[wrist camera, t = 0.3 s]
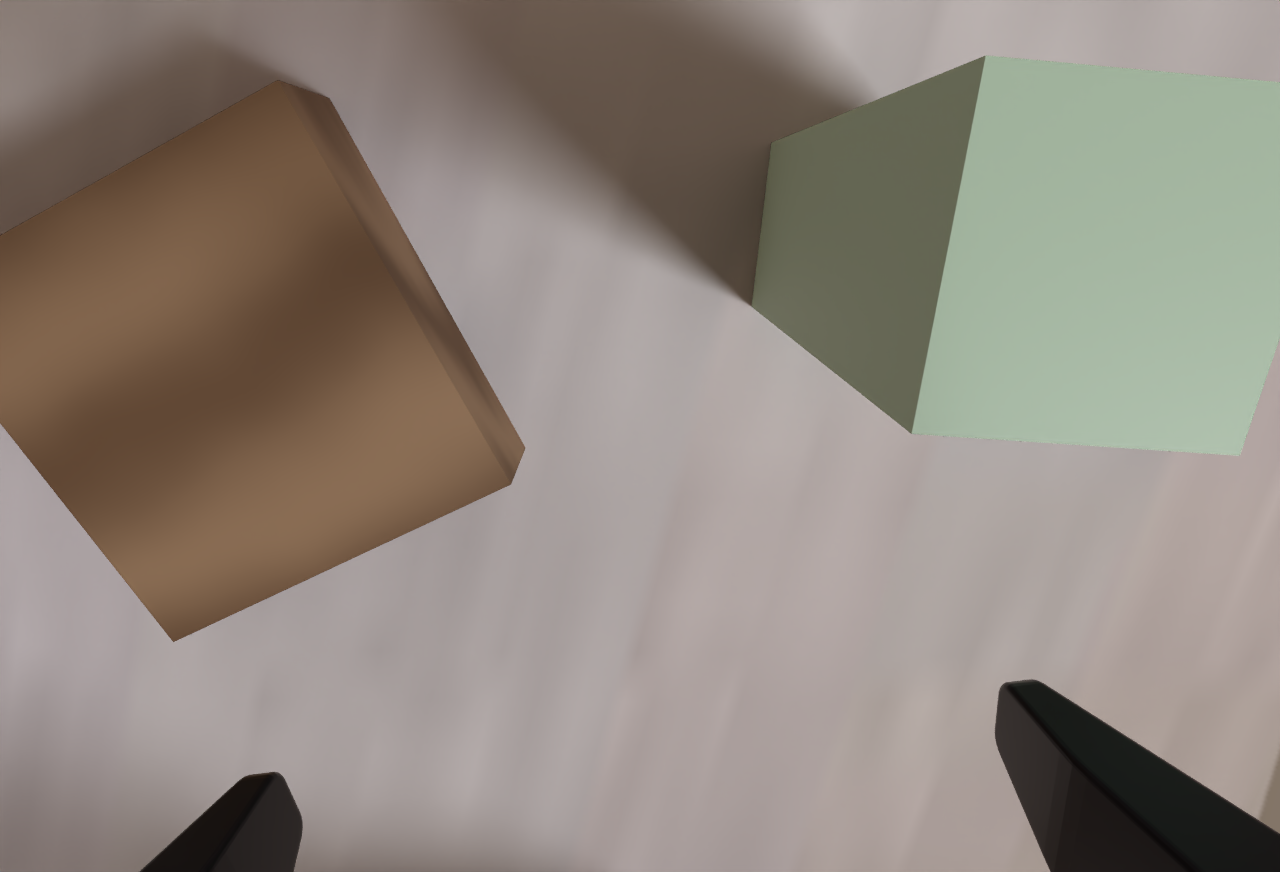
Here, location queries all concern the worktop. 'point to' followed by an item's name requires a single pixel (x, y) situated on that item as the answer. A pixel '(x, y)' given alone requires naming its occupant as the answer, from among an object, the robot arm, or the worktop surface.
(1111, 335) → the green block
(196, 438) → the walnut riser
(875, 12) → the worktop surface
